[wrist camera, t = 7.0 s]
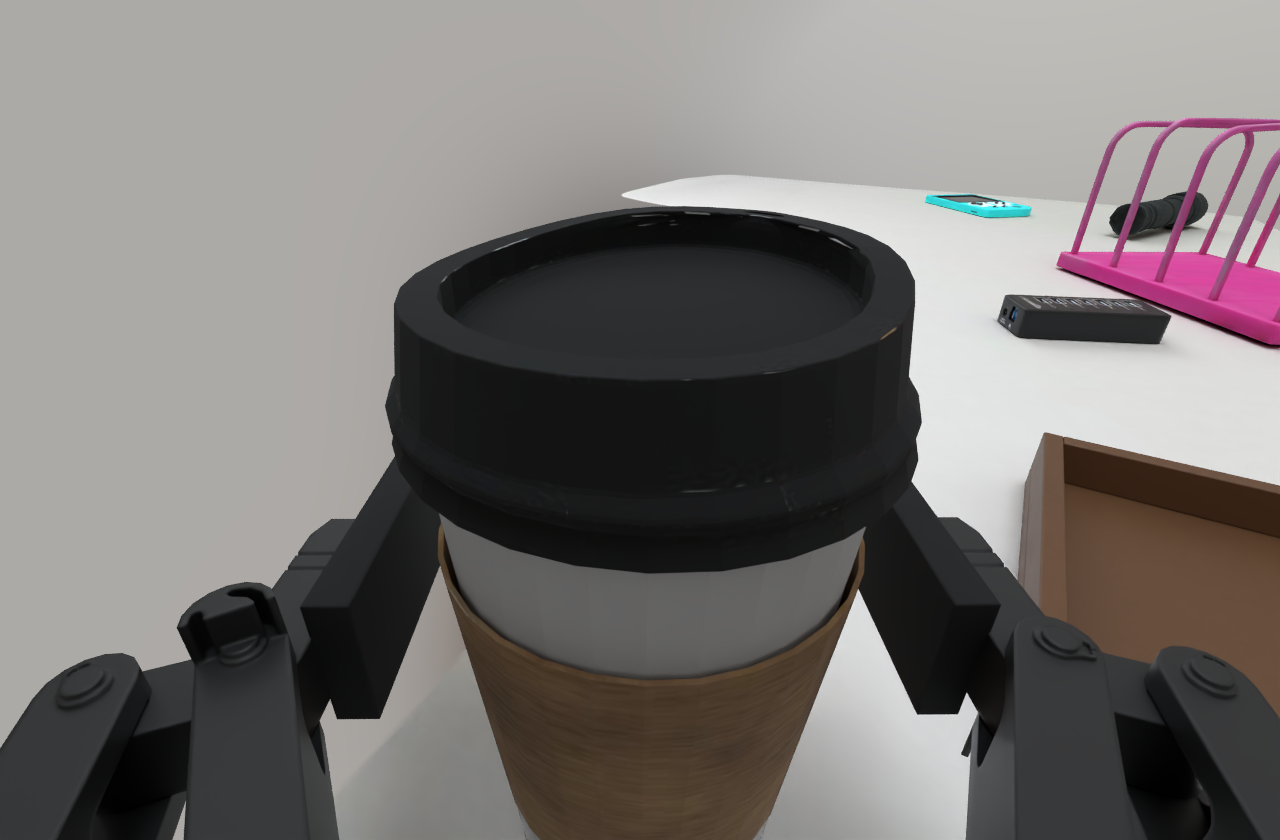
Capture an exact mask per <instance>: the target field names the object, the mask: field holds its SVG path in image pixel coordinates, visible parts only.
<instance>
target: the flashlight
mask: <svg viewBox="0 0 1280 840" xmlns="http://www.w3.org/2000/svg"><path fill="white" fill-rule="evenodd" d="M1186 193H1187V192H1181V193H1176V194H1172V195H1169V196H1167V197H1165V198H1163V199H1160V200H1154V201H1148V202H1142V203H1140V204H1139V207H1138V210H1137V212H1136V215H1135V218H1134V220H1133V223H1132V226H1131V229H1130V231H1129V234H1128V235H1131V234H1134V233H1137V232H1141V231H1143V230H1146V229H1152V228H1153V229H1156V228H1160V227H1167V228H1174V225H1175V222H1176V220H1177V217H1178V214H1179V212H1180V209H1181V206H1182V204H1183V201H1184V198H1185V196H1186ZM1130 206H1131V204H1125V205H1122V206H1120V207H1118V208H1117V209H1116V210H1115V212H1114V213H1113V214H1112V215H1111V217H1110V222H1109V223H1110V225H1111V227H1112V229H1113V231H1114V232H1115V233H1116V234H1117V235H1120V234H1121V231H1122V228H1123V225H1124V222H1125V220H1126V217H1127V214H1128V211H1129V209H1130ZM1207 209H1208V203H1207V200H1206V198H1205V197H1204V196H1203V195H1202V194H1201V193H1197V192H1196V195H1195V198H1194V200H1193V203H1192V206H1191V208H1190V211H1189V214H1188V216H1187V219H1186V221H1185V224H1184V226H1187V225H1190V224H1192V223H1194V222H1196V221H1198V220H1199V219H1201V218H1202V217H1203V216H1204V215H1205V213H1206V211H1207Z"/></svg>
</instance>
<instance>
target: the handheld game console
mask: <svg viewBox="0 0 1280 840" xmlns="http://www.w3.org/2000/svg"><path fill="white" fill-rule="evenodd" d="M925 202H927V203H931V204H935V205H939V206H943V207H947V208H951V209H955V210H959V211H963V212H967V213H970V214H974V215H978V216H982V217H988V218H989V217H1019V216H1028V215H1030V212H1031V209H1032V207H1029V206H1024V205H1020V204H1015V203H1010V202H1006V201H1001V200H996V199H992V198H987V197H982V196H978V195H973V194H962V195H927V196H926V201H925Z"/></svg>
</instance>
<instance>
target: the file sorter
mask: <svg viewBox="0 0 1280 840" xmlns="http://www.w3.org/2000/svg"><path fill="white" fill-rule="evenodd" d="M1137 127H1167V128H1166V129H1165V130H1164V131H1163V132H1162V133H1161V134H1160V135H1159V136H1158V138H1157V139H1156V141H1155V143H1154V144H1153V146H1152V149H1151V151H1150V154H1149V156H1148V159H1147V162H1146V165H1145V167H1144V170H1143V173H1142V175H1141V178H1140V181H1139V183H1138V186H1137V189H1136V192H1135V195H1134V197H1133V200H1132V203H1131V206H1130V209H1129V211H1128V214H1127V217H1126V220H1125V222H1124V225H1123V228H1122V231H1121V234H1120V236H1119V239H1118V242H1117V245H1116V247H1115V250H1114V252H1078V251H1079V248H1080V245H1081V242H1082V239H1083V236H1084V233H1085V230H1086V228H1087V225H1088V222H1089V219H1090V216H1091V213H1092V210H1093V207H1094V204H1095V201H1096V198H1097V195H1098V193H1099V190H1100V187H1101V184H1102V181H1103V178H1104V175H1105V173H1106V170H1107V167H1108V164H1109V161H1110V158H1111V155H1112V153H1113V151H1114V148H1115V146H1116V144H1117V142H1118V141H1119V140H1120V139H1121V138H1122V137H1123V136H1124V135H1125V134H1126V133H1127V132H1128V131H1130V130H1132V129H1134V128H1137ZM1178 127H1196V128H1202V127H1203V128H1230V129H1228V130H1226V131H1224V132H1223V133H1221V134H1220V135H1218V136H1217V137H1216V138H1215V139H1214V140H1213V141H1212V142H1211V143H1210V144H1209V145H1208V146H1207V148H1206V149H1205V151H1204V152H1203V154H1202V156H1201V158H1200V160H1199V162H1198V165H1197V167H1196V170H1195V172H1194V175H1193V178H1192V180H1191V183H1190V185H1189V188H1188V191H1187V193H1186V196H1185V198H1184V201H1183V204H1182V206H1181V209H1180V212H1179V214H1178V217H1177V220H1176V222H1175V225H1174V228H1173V230H1172V233H1171V236H1170V239H1169V242H1168V244H1167V247H1166V249H1165V252H1122V251H1123V248H1124V245H1125V243H1126V240H1127V237H1128V234H1129V231H1130V229H1131V226H1132V223H1133V220H1134V218H1135V215H1136V212H1137V210H1138V207H1139V204H1140V201H1141V199H1142V196H1143V193H1144V190H1145V187H1146V185H1147V182H1148V179H1149V177H1150V174H1151V171H1152V168H1153V166H1154V163H1155V160H1156V158H1157V155H1158V152H1159V150H1160V148H1161V145H1162V144H1163V142H1164V140H1165V139H1166V138H1167V137H1168V136H1169V134H1171V132H1173V131H1174V130H1175V129H1177V128H1178ZM1275 130H1280V120H1273V119H1236V118H1235V119H1234V118H1185V119H1181V120H1179V121H1138V122H1134V123H1131V124H1129V125H1127V126H1125V127H1124V128H1122V129H1121V130H1120V131H1119V132H1117V133H1116V134H1115V136H1114V137H1113V138H1112V140H1111V141H1110V143H1109V145H1108V147H1107V149H1106V152H1105V154H1104V157H1103V160H1102V163H1101V165H1100V168H1099V171H1098V174H1097V177H1096V180H1095V182H1094V185H1093V188H1092V191H1091V194H1090V197H1089V200H1088V203H1087V206H1086V209H1085V212H1084V215H1083V218H1082V221H1081V224H1080V226H1079V229H1078V232H1077V235H1076V238H1075V241H1074V244H1073V247H1072V250H1071V252H1061V254H1060V257H1059V260H1058V262H1057V266H1059V267H1062V268H1063V269H1066V270H1068V271H1071V272H1074V273H1077V274H1079V275H1082V276H1087V277H1089V278H1092V279H1095V280H1097V281H1100V282H1103V283H1106V284H1108V285H1111V286H1114V287H1117V288H1119V289H1122V290H1125V291H1127V292H1130V293H1133V294H1136V295H1138V296H1141V297H1144V298H1146V299H1149V300H1152V301H1155V302H1157V303H1160V304H1163V305H1165V306H1168V307H1171V308H1174V309H1176V310H1179V311H1182V312H1185V313H1187V314H1190V315H1193V316H1195V317H1198V318H1201V319H1203V320H1206V321H1209V322H1211V323H1214V324H1217V325H1219V326H1222V327H1225V328H1227V329H1230V330H1232V331H1235V332H1237V333H1240V334H1243V335H1246V336H1248V337H1251V338H1253V339H1256V340H1259V341H1261V342H1264V343H1268V344H1280V273H1279V272H1275V271H1271V270H1268V269H1264V268H1260V267H1256V266H1255V264H1256V262H1257V260H1258V258H1259V256H1260V254H1261V252H1262V249H1263V247H1264V245H1265V243H1266V241H1267V239H1268V237H1269V235H1270V233H1271V231H1272V229H1273V226H1274V224H1275V222H1276V220H1277V218H1278V216H1279V214H1280V195H1279V197H1278V199H1277V201H1276V203H1275V206H1274V208H1273V210H1272V212H1271V214H1270V216H1269V218H1268V220H1267V222H1266V225H1265V227H1264V229H1263V231H1262V233H1261V235H1260V237H1259V239H1258V241H1257V244H1256V246H1255V248H1254V250H1253V252H1252V254H1251V256H1250V258H1249V260H1248V263H1247V264H1245V263H1241V262H1237V261H1235V260H1236V258H1237V255H1238V253H1239V251H1240V248H1241V246H1242V244H1243V242H1244V240H1245V237H1246V235H1247V233H1248V231H1249V229H1250V227H1251V224H1252V222H1253V220H1254V217H1255V215H1256V213H1257V211H1258V209H1259V206H1260V204H1261V202H1262V200H1263V198H1264V196H1265V193H1266V191H1267V188H1268V186H1269V184H1270V182H1271V180H1272V178H1273V176H1274V174H1275V172H1276V170H1277V168H1278V166H1279V164H1280V149H1278V151H1277V152H1276V153H1275V154H1274V156H1273V157H1272V158H1271V160H1270V161H1269V163H1268V165H1267V167H1266V169H1265V171H1264V173H1263V175H1262V177H1261V180H1260V182H1259V184H1258V186H1257V189H1256V191H1255V194H1254V196H1253V198H1252V200H1251V202H1250V204H1249V207H1248V209H1247V211H1246V213H1245V216H1244V218H1243V220H1242V222H1241V225H1240V227H1239V229H1238V231H1237V233H1236V236H1235V238H1234V240H1233V242H1232V245H1231V247H1230V249H1229V252H1228V254H1227V256H1226V258H1221V257H1218V256H1214V255H1210V254H1206V253H1207V250H1208V248H1209V246H1210V244H1211V242H1212V239H1213V237H1214V235H1215V233H1216V231H1217V229H1218V226H1219V224H1220V222H1221V219H1222V217H1223V215H1224V213H1225V211H1226V208H1227V206H1228V204H1229V202H1230V200H1231V197H1232V195H1233V193H1234V190H1235V188H1236V186H1237V184H1238V181H1239V179H1240V177H1241V175H1242V173H1243V170H1244V168H1245V166H1246V164H1247V161H1248V159H1249V157H1250V154H1251V151H1252V149H1253V145H1254V134H1253V132H1255V131H1256V132H1257V131H1275ZM1238 133H1243V134H1244V136H1245V140H1246V141H1245V149H1244V151H1243V154H1242V156H1241V159H1240V161H1239V163H1238V166H1237V168H1236V170H1235V173H1234V175H1233V177H1232V180H1231V182H1230V184H1229V186H1228V188H1227V191H1226V193H1225V195H1224V198H1223V200H1222V202H1221V204H1220V206H1219V209H1218V211H1217V213H1216V216H1215V218H1214V220H1213V222H1212V224H1211V227H1210V229H1209V231H1208V233H1207V235H1206V238H1205V240H1204V242H1203V244H1202V247H1201V249H1200V251H1199V252H1174V251H1175V248H1176V245H1177V243H1178V240H1179V237H1180V234H1181V232H1182V229H1183V227H1184V224H1185V221H1186V219H1187V216H1188V214H1189V211H1190V208H1191V206H1192V203H1193V200H1194V198H1195V195H1196V192H1197V190H1198V187H1199V184H1200V182H1201V179H1202V177H1203V175H1204V172H1205V169H1206V167H1207V164H1208V162H1209V160H1210V158H1211V156H1212V154H1213V153H1214V151H1215V150H1216V148H1217V147H1218V146H1219V145H1220V144H1221V143H1222V142H1223V141H1225V140H1226V139H1228V138H1229V137H1231V136H1233V135H1235V134H1238Z"/></svg>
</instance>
